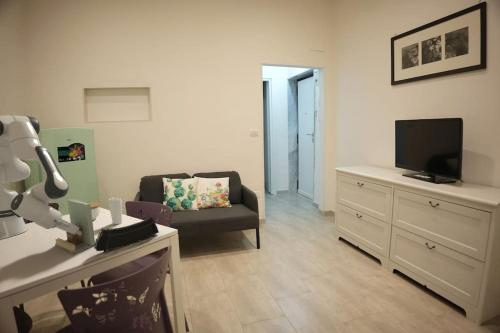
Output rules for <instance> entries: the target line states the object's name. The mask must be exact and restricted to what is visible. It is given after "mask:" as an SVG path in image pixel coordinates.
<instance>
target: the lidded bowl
mask: <svg viewBox="0 0 500 333" xmlns="http://www.w3.org/2000/svg"><path fill="white" fill-rule="evenodd" d="M86 203H89V204H90V205H91V213H92V221H95V220H96V219H97V218H98V217H99V215H100V211H101V208H100V207H101V205H100V203H99V202H89V201H87V202H86Z"/></svg>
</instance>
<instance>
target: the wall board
mask: <svg viewBox="0 0 500 333" xmlns="http://www.w3.org/2000/svg"><path fill="white" fill-rule="evenodd" d="M89 203H90V202H89ZM89 203H87V202H85V201H82V200H78V199H72V198H71V199H67V204H68V212H69V213H68V214H69V220H70V221H69V222H70V223H72V224H74V225H78V226H81V227H82V232H83V240H84V243H81V244H78V245H74V244H72V243H69V242H68V241H67V239H65V240H64V239H62V238H60V237H57V238H55V244H54V245H55V246H56V247H57V248H60V249H62V250H65V251H67V252H69V253H71V254H73V255H75V254H77V253H79V252H82V251H85V250H87V249H89V248H90V249H91V248H94V246H95V241H96V238H95V231H94V224H93V223H94V222H93V221H94V220H92V213H91V205H90V204H89Z"/></svg>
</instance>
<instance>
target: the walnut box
mask: <svg viewBox="0 0 500 333" xmlns="http://www.w3.org/2000/svg"><path fill="white" fill-rule="evenodd" d="M76 226H77V227H79V231H81V232H82V227H81V226H78V225H76ZM65 233H66V240H67V241H68V242H69V243H72V244H74V245H78V244H81V243H84V240H83V232H82V234H81V235H80V236H79V235H77V234H71V233H69V232H66V231H65Z"/></svg>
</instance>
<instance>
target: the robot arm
mask: <svg viewBox="0 0 500 333" xmlns="http://www.w3.org/2000/svg"><path fill="white" fill-rule="evenodd" d="M40 131H41V126H40V122H39V121H38V119H37V118H36V117H33V116H29V115H26V116H24V115H17V114H16V115H15V114H11V115H6V114H5V115H0V240H4V239H7V238H10V237H13V236H17V235H20V234H22V233H25V232H26V231H28V227H27V225H26V223H25V220H27V221H31V222H33V223H34V224H36V225H37V226H39V227H41V228H44V229H45V230H51V229H55V228H57V229H59V230H61V231H64V232H65V233H66V232H69V233H71V234H77V235H79V236H80V235H81V234H82V232H81V231H79V227H77V226H76V225H74V224H72V223H71V221H68V220H64V219H63V216H62V212H61V211H59V210H57V209H56V208H53V207H52V206H50V205H49V204H50V203H51V202H53V201H55V200H58V199H61V198H64V197H65V196H67V194H68V193H69V188H70V187H69V183H68V182H67V179H66V178H65V177H64V176H63V175H62V173H61V171H60V169H59V166H58V165H57V163H56V161H55V159H54V157H53V155H52V153H51V152H50V151H49V149H48V148H47V147H45V146H43V145H42V144H41V142H40V139H39V135H38V134H39V133H40ZM24 161H26V162H31V161H33V162H34V161H36V162H37V163H38V164H39V165H40V168H41V170H42V172H43V174H44V176H45V178H44V180H43V181H41V182H39V183H36V184H35V185H33V186H31V187H29V188H28V189H27V190H26V191H24V192H22V193H18V192H17V191H16V190H13V189H9V188H5V185H4V184H10V183H14V182H15V183H16V182H21V181H23V180H25V179H29V177H30V175H31V167H30V166H29V165H28V164H27V163H26V162H24Z"/></svg>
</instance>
